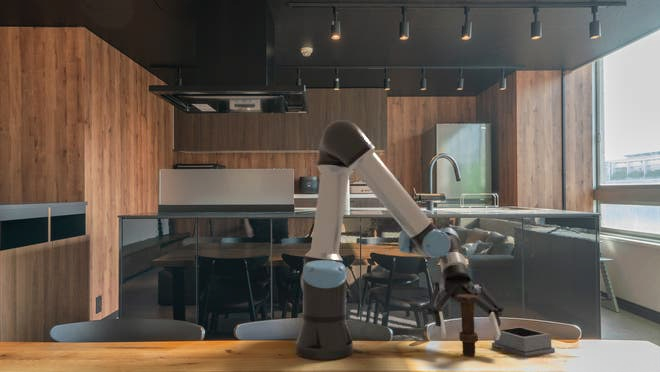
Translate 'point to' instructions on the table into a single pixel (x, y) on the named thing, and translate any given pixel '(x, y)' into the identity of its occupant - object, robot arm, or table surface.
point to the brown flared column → (468, 323)
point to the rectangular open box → (524, 341)
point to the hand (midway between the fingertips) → (471, 337)
